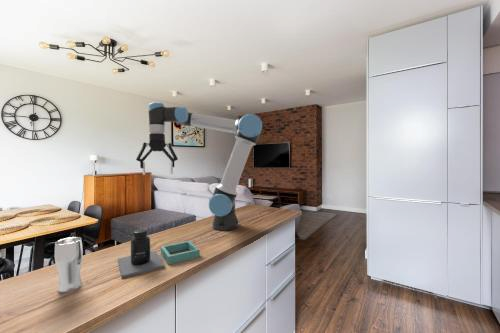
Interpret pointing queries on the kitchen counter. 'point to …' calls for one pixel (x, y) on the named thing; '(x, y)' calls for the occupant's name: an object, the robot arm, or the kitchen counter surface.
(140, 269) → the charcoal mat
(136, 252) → the supplement bottle
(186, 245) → the teal collar
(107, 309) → the kitchen counter surface
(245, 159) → the robot arm
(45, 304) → the kitchen counter surface
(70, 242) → the beer glass
